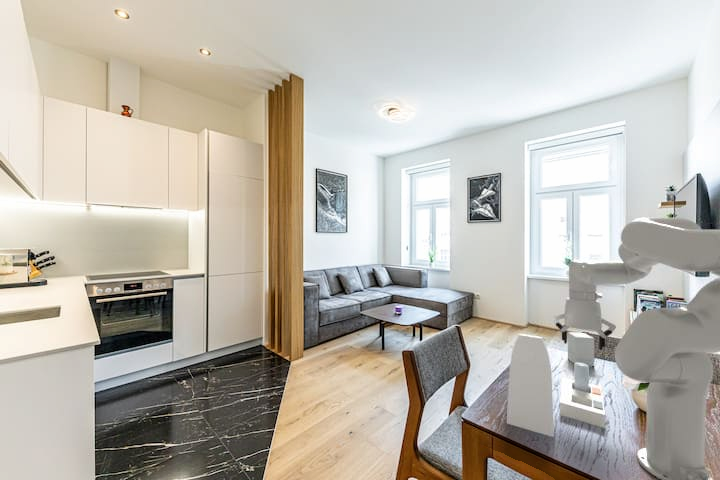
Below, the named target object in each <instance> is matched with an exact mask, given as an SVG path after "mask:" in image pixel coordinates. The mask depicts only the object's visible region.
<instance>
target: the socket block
mask: <svg viewBox="0 0 720 480" xmlns="http://www.w3.org/2000/svg"><path fill="white" fill-rule="evenodd" d="M560 390H561V391H560V401H559V415H560V416H562V417H563V416H564V417H567V418H570V419H573V420H576V421H580V422H583V423H586V424H589V425H593V426H595V427H600V428H603V429H606V412H605V404H604V398H603V393H602V392H603V391H602V386H600V385H596V384H592V383H589V393H587V392H584V391H580V390H576V389H574V379H571V378H567V377H562V380H561V388H560Z"/></svg>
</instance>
